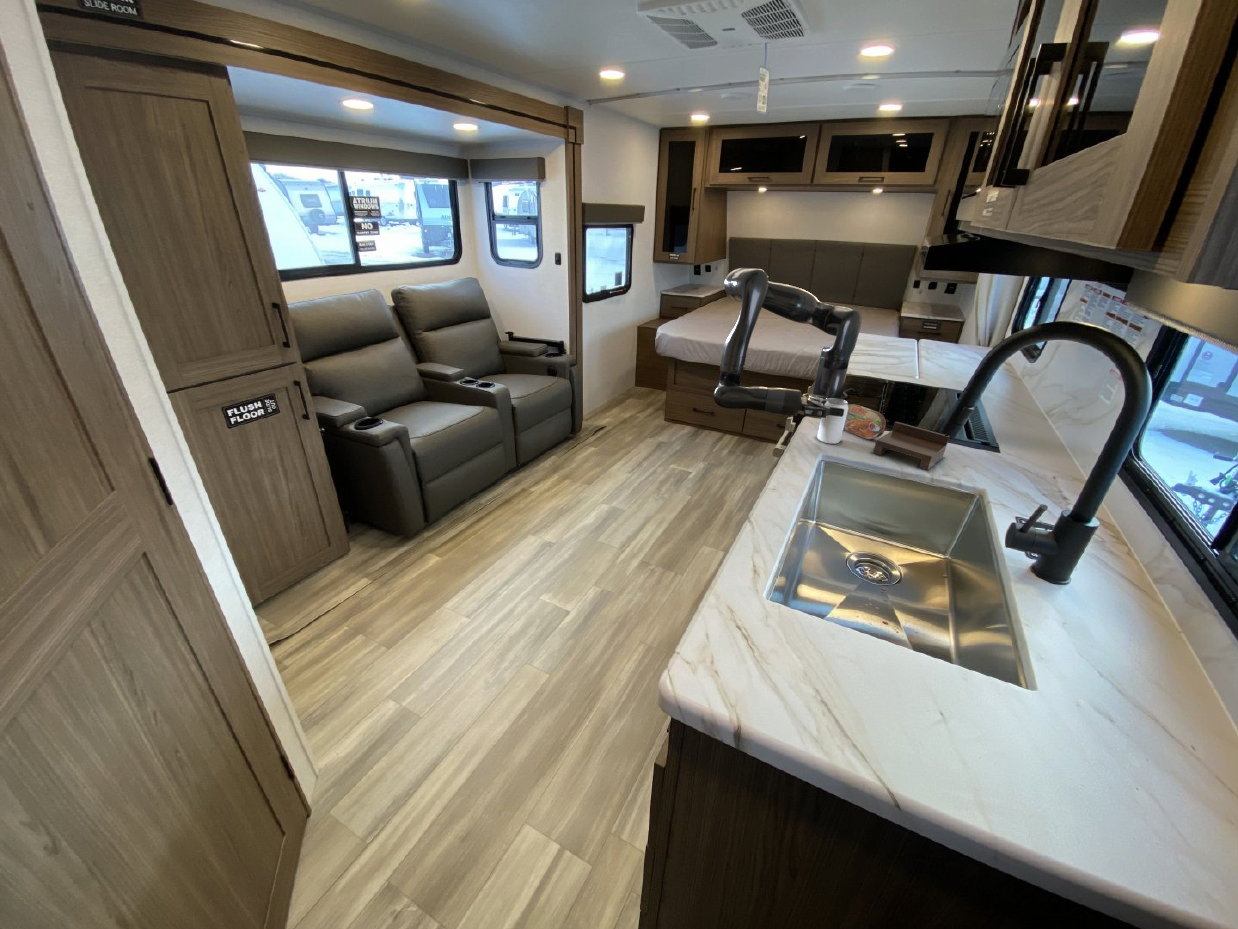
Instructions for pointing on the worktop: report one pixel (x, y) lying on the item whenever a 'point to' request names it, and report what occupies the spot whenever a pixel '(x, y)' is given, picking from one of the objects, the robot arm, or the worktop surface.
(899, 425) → the bench
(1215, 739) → the worktop surface
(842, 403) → the can
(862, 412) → the tin
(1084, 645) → the worktop surface
